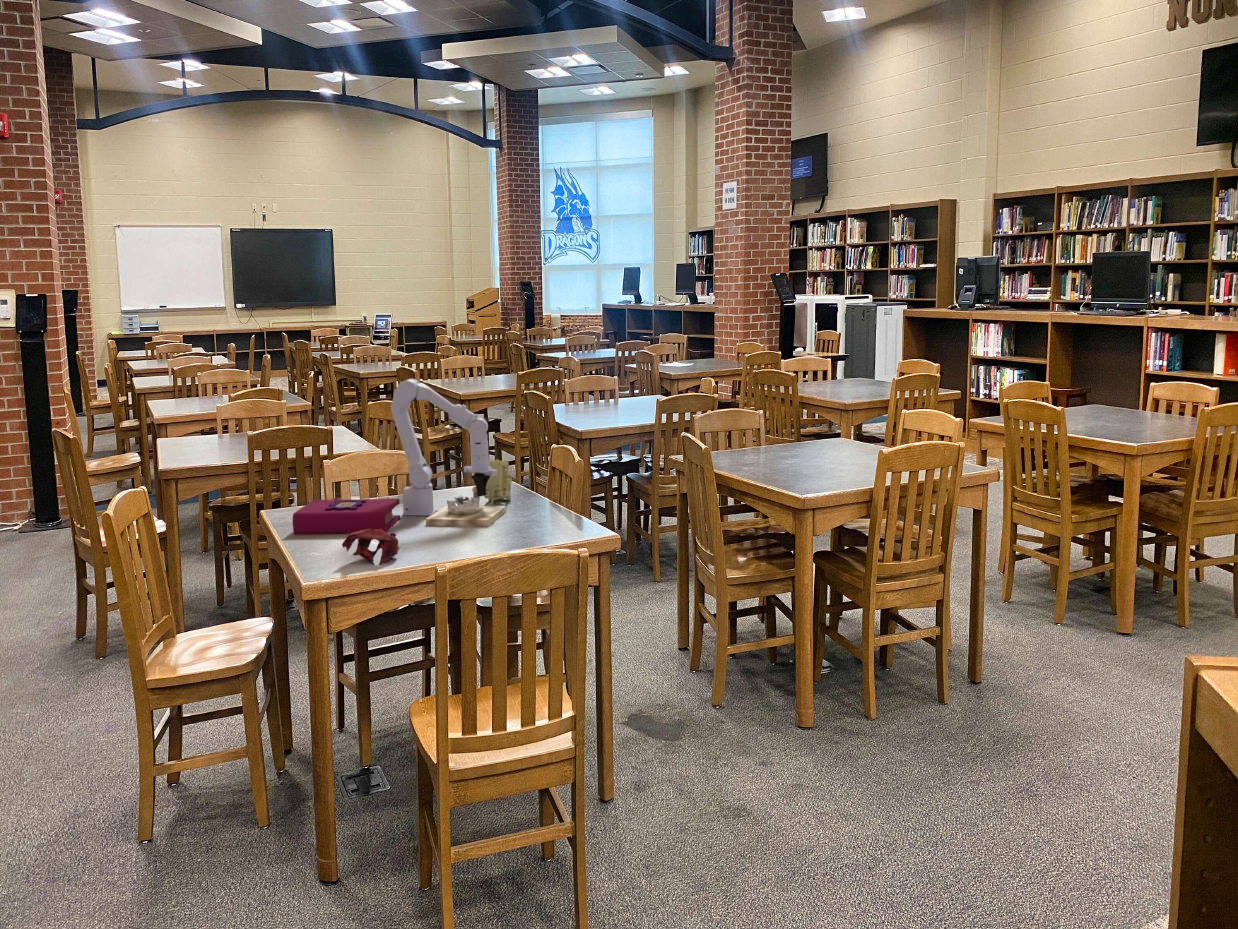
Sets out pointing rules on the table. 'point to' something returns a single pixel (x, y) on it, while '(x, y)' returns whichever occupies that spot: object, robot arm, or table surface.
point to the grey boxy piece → (464, 504)
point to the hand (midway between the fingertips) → (481, 495)
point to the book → (345, 516)
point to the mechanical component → (498, 482)
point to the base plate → (467, 517)
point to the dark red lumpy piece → (372, 545)
